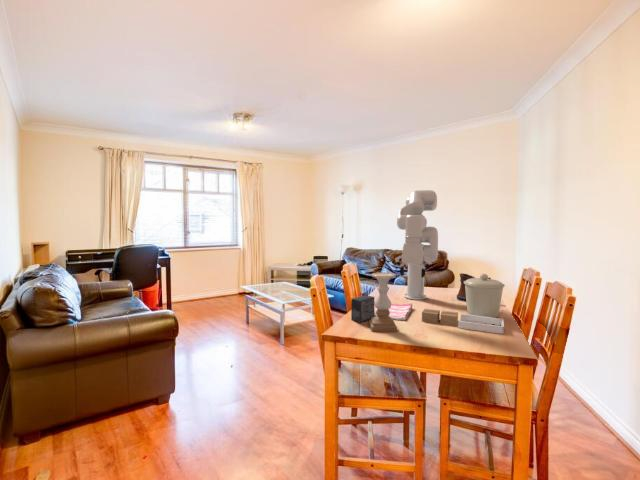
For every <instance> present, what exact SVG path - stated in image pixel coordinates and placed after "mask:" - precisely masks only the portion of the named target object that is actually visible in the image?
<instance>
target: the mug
mask: <svg viewBox="0 0 640 480" xmlns="http://www.w3.org/2000/svg"><path fill="white" fill-rule="evenodd" d="M459 277H460V280H459V281H460V286H459V290H458V293H457V294H456V300H458V301H459V302H466V291H465V284H464V281H466V280H468V279H471V278H476V277H475V276H473V275H470V274H468V273H461V272H460V273H459ZM488 279H492V278H491V277H489V276H488Z"/></svg>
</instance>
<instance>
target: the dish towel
mask: <svg viewBox="0 0 640 480" xmlns="http://www.w3.org/2000/svg"><path fill="white" fill-rule="evenodd" d="M376 310H377V308H376V307H375V308H374V315H375V316H377V314H376ZM388 310H389V311H390V314H389V315H388V316H389V317H391V318H392V319H393V320H394V321H403V322H404V321H406V319H407V318H408V316H409V314H410V313H411V312H412V311H413V303H407V304H406V303H405V304H404V303H401V304H398V303H391V307H390V308H389V309H388Z"/></svg>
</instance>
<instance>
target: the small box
mask: <svg viewBox="0 0 640 480" xmlns="http://www.w3.org/2000/svg"><path fill="white" fill-rule="evenodd" d="M350 302H351V304H350V305H351V310H350V311H351V317H350V319H351V321H353V322H357V323H360V324H361V323H364V322H369V320H371V317H375V315H374V310H375V296H372V295H371V296H370V295H365V294H364V295H360V296H355V297H353V298H350Z"/></svg>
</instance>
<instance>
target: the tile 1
mask: <svg viewBox="0 0 640 480" xmlns="http://www.w3.org/2000/svg"><path fill="white" fill-rule="evenodd" d="M440 320H441V312H440V310H438V309H431V308H424V309H423V310H422V311H421V322H424V323H432V324H438V323H439V321H440Z"/></svg>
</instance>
